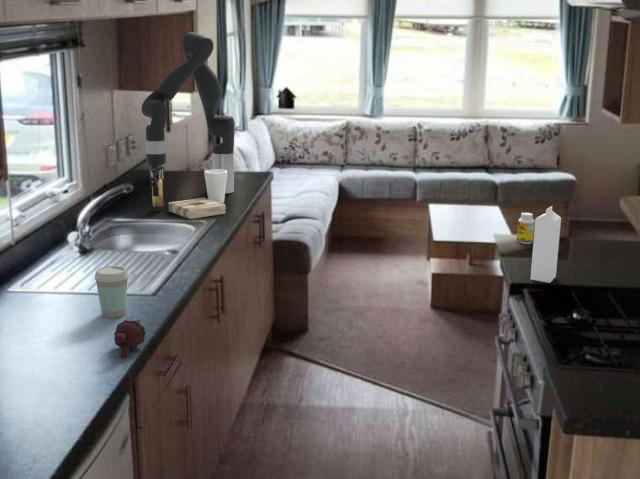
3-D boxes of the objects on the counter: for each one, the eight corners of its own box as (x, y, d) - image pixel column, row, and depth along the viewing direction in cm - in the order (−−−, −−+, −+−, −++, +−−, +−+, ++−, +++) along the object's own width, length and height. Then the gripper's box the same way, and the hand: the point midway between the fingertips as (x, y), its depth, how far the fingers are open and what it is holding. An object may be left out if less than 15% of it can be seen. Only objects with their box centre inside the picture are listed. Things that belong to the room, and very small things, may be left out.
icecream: (120, 310, 202) (99, 338, 188) (149, 304, 201) (129, 332, 187) (129, 335, 204) (108, 365, 190) (157, 330, 203) (139, 359, 189)
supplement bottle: (513, 240, 296) (515, 212, 293) (527, 239, 297) (529, 211, 295) (522, 244, 290) (524, 216, 288) (535, 243, 292) (538, 215, 290)
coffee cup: (132, 318, 215) (130, 273, 212) (98, 321, 212) (95, 276, 209) (128, 307, 223) (126, 263, 220) (95, 310, 220) (92, 266, 217)
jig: (168, 211, 331) (168, 202, 330) (203, 206, 341) (203, 197, 340) (190, 219, 319) (189, 210, 318) (225, 213, 329) (225, 204, 328)
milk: (555, 278, 254) (562, 207, 248) (549, 283, 249) (556, 210, 243) (535, 274, 257) (542, 204, 251) (529, 279, 252) (536, 207, 246)
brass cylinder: (151, 205, 331) (149, 180, 328) (160, 203, 334) (159, 179, 331) (155, 207, 328) (154, 182, 325) (165, 205, 331) (164, 180, 328)
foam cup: (229, 200, 352) (229, 169, 348) (225, 205, 343) (224, 173, 339) (207, 199, 353) (207, 168, 349) (202, 204, 344) (201, 172, 340)
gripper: (160, 155, 318) (161, 199, 323) (170, 148, 332) (171, 191, 336) (140, 154, 319) (142, 198, 323) (151, 148, 332) (153, 190, 337)
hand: (157, 194), depth 330 cm, fingers closed on brass cylinder, 4 cm apart
